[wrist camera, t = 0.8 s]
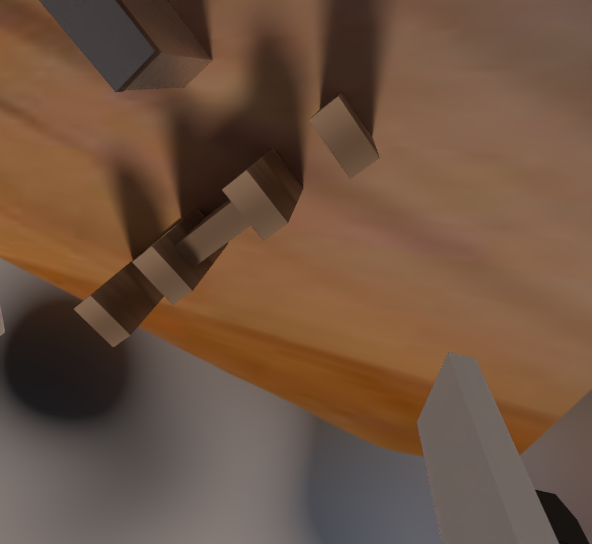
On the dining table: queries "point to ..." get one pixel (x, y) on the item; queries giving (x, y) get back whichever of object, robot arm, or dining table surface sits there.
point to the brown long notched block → (220, 228)
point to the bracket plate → (132, 41)
